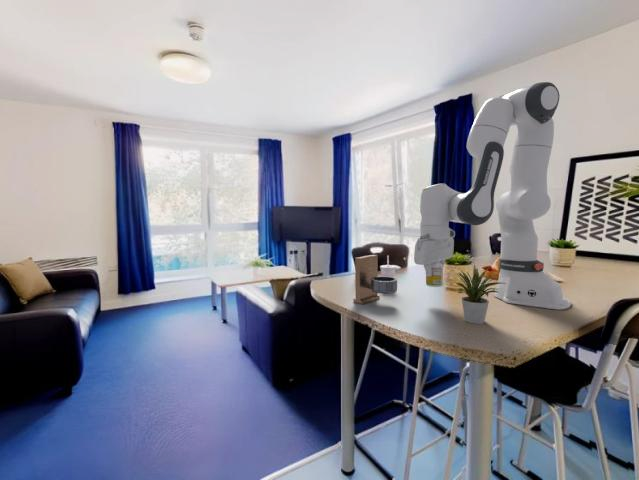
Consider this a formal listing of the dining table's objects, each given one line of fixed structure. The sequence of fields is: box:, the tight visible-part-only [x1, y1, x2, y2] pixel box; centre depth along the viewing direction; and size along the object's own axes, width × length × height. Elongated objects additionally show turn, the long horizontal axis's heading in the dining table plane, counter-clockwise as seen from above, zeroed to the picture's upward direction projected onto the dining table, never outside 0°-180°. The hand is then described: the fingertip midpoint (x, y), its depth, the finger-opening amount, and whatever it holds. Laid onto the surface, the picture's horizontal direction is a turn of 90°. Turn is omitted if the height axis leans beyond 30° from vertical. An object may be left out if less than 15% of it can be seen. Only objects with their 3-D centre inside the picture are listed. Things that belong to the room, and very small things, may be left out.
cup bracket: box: [352, 254, 398, 305], centre depth 111 cm, size 14×10×16 cm
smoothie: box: [379, 255, 397, 278], centre depth 129 cm, size 6×6×14 cm
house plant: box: [455, 264, 505, 325], centre depth 91 cm, size 14×14×16 cm
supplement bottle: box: [425, 257, 444, 288], centre depth 107 cm, size 5×5×10 cm
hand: (434, 274), depth 107 cm, fingers closed on supplement bottle, 5 cm apart
